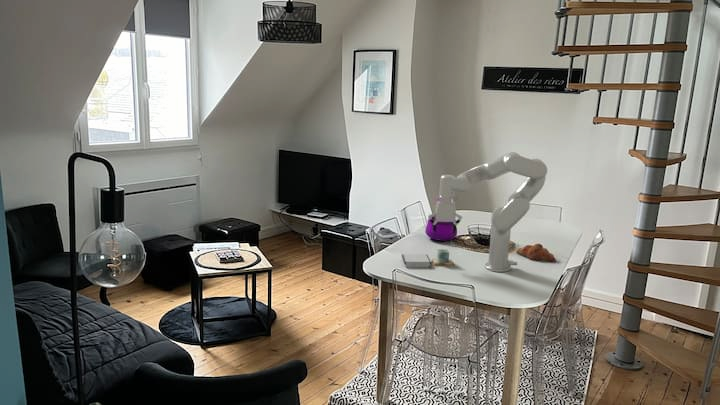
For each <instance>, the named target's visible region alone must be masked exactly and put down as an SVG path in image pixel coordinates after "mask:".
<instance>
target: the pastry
mask: <svg viewBox="0 0 720 405" xmlns="http://www.w3.org/2000/svg"><path fill="white" fill-rule="evenodd" d="M515 252H516V254H517V255H519V256H521V257H524V258H526V259H528V260H531V261H537V262H541V261H543V262H548V263H549V262H550V263H555V262H556V257H555V255H554V254H552V253H550V251H549V250H548V249H547V248H544V246H543V245H542V243H535V244H534V245H529V244H528V245H525V246H524V247H519V248H518V249H517V250H516V251H515Z"/></svg>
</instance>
